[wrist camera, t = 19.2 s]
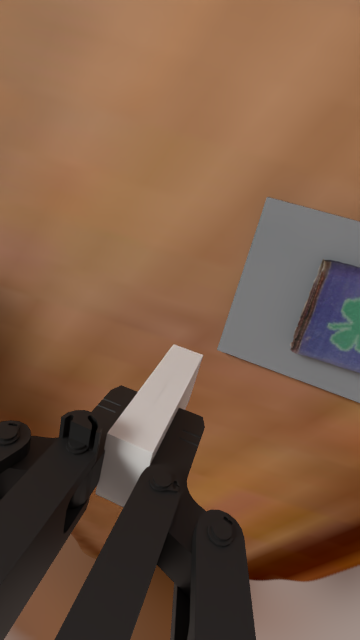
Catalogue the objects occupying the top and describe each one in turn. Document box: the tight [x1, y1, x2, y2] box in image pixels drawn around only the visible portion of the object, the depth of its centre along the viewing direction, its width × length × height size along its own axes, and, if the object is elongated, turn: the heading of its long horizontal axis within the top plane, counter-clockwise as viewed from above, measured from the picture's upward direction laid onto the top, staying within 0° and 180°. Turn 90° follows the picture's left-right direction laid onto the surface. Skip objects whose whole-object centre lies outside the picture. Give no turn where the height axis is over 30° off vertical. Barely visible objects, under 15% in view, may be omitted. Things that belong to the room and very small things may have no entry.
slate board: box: [217, 197, 360, 403], centre depth 32 cm, size 18×16×1 cm
